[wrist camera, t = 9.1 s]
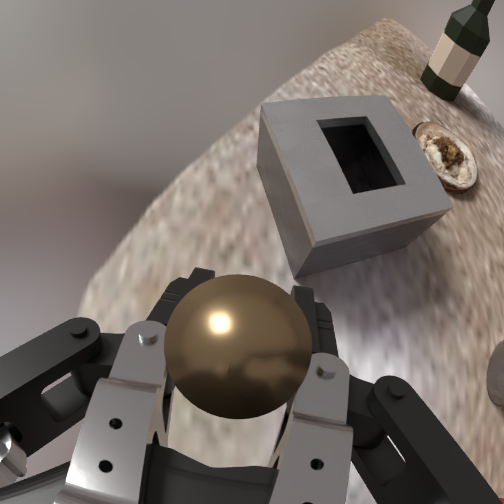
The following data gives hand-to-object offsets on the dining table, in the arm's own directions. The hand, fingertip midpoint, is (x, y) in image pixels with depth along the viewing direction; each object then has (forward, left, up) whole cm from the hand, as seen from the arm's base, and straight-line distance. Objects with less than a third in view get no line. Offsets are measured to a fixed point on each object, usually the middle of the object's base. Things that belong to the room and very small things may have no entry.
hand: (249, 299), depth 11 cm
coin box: (-13, -11, -18) cm, 25 cm away
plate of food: (-34, -15, -19) cm, 42 cm away
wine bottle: (-47, -32, -18) cm, 60 cm away
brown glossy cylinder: (+1, +2, -4) cm, 5 cm away
